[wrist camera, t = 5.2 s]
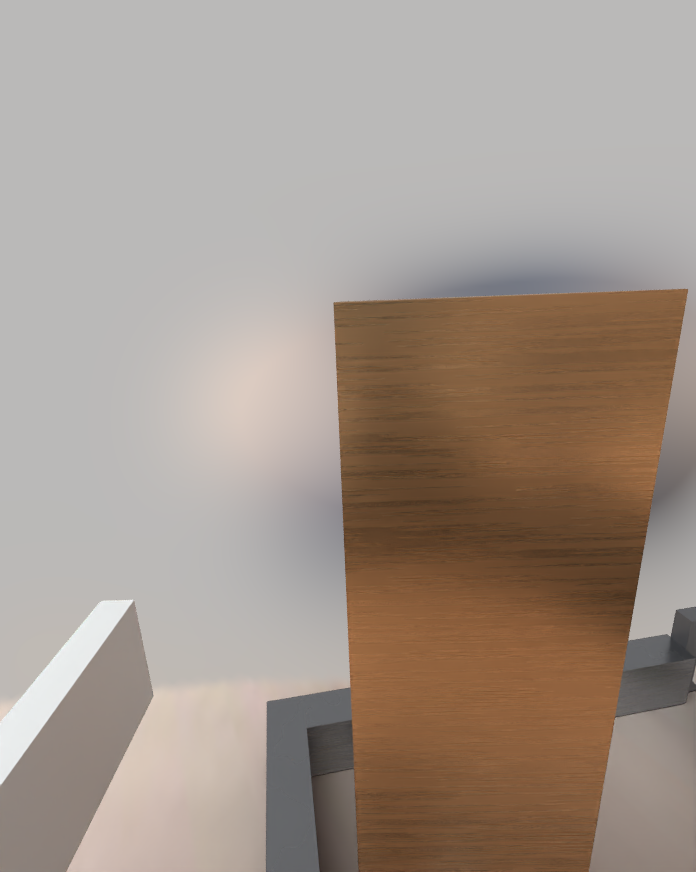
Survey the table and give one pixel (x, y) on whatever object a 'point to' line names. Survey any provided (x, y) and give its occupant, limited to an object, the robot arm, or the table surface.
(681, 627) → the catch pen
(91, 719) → the robot arm
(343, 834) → the table surface
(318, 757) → the slot rails
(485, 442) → the brown wooden block
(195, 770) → the table surface
